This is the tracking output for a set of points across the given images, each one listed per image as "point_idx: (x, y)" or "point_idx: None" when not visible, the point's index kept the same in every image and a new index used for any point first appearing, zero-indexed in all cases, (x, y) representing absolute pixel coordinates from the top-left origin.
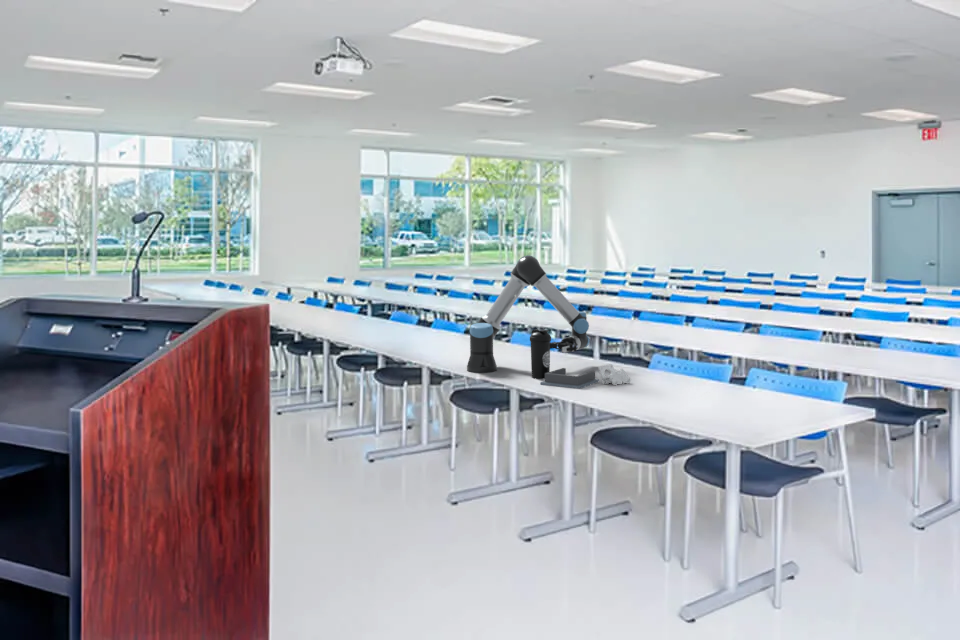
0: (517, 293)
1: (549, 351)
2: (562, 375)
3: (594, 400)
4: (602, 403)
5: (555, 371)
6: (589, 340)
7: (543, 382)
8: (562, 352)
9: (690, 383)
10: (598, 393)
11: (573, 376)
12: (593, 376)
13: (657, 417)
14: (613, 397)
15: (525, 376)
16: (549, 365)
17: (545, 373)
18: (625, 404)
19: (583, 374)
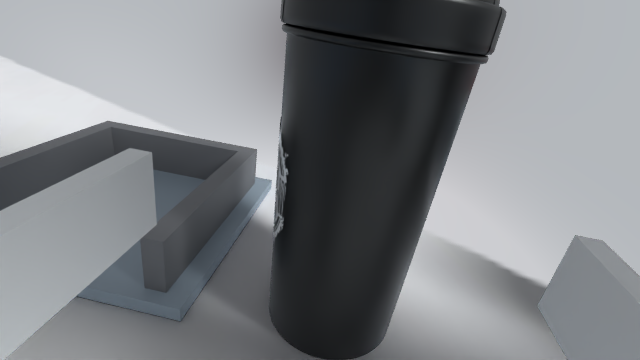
0: None
1: (280, 123)
2: (175, 134)
3: (99, 101)
4: (87, 92)
5: (212, 174)
6: None
7: (258, 178)
8: (148, 216)
9: None
10: (57, 127)
11: (127, 125)
12: None
13: (13, 61)
14: (27, 108)
15: (433, 317)
16: (273, 232)
17: (253, 149)
18: (30, 87)
19: (63, 139)
